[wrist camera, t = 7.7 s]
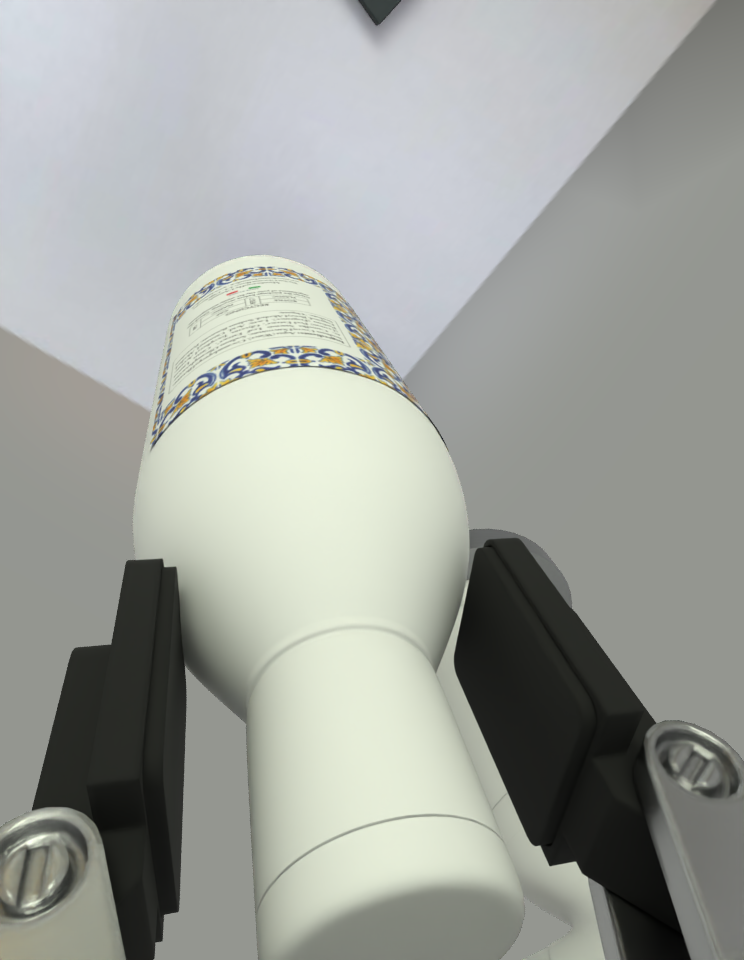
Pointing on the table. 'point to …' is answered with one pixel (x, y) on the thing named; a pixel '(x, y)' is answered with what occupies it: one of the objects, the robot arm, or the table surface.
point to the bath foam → (324, 617)
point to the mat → (379, 8)
